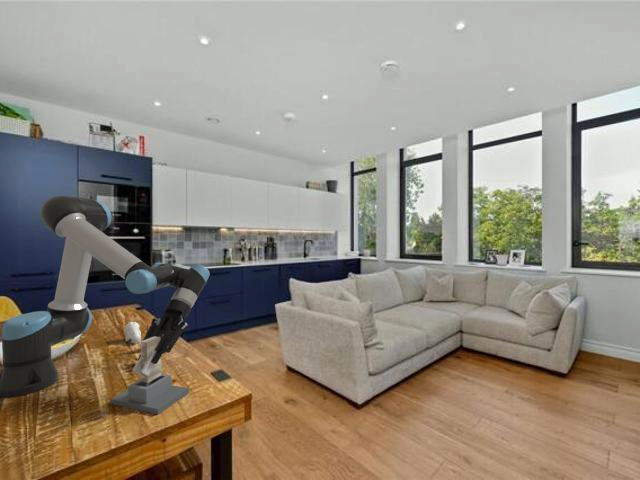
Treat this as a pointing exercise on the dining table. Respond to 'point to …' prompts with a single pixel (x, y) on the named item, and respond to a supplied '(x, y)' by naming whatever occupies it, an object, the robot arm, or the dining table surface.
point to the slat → (146, 351)
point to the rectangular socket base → (150, 395)
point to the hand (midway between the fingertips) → (140, 373)
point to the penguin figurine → (132, 332)
